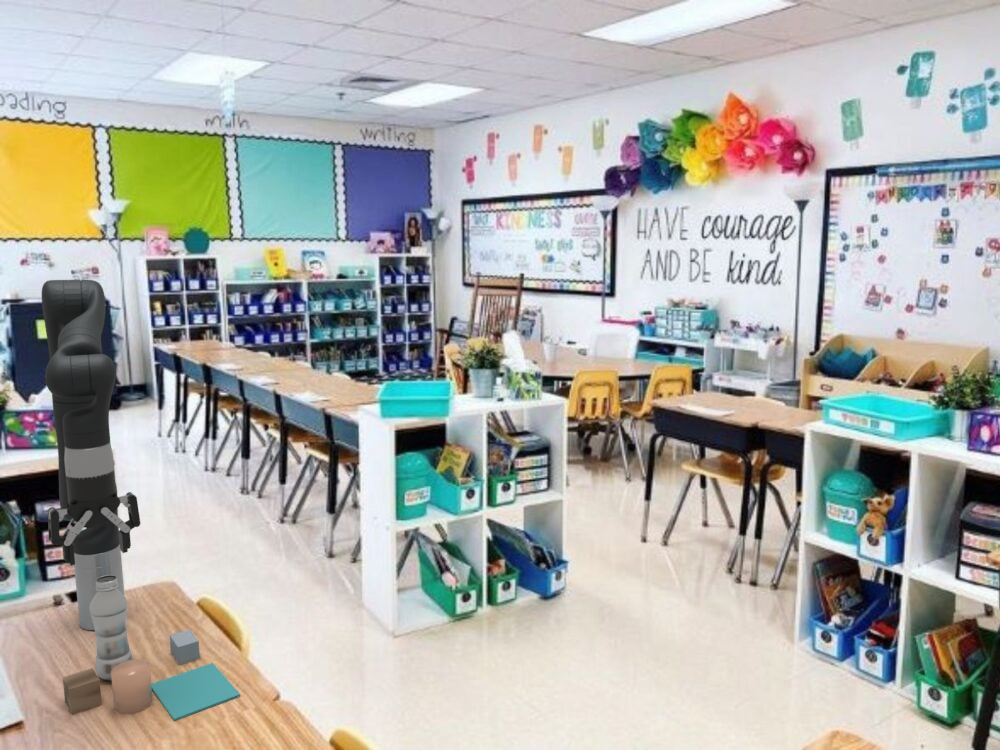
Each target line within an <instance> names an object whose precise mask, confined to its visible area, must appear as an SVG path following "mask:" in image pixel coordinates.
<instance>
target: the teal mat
mask: <svg viewBox="0 0 1000 750" xmlns="http://www.w3.org/2000/svg"><path fill="white" fill-rule="evenodd" d="M151 686H152V693H154V694H155V696H156V697H157V699H158V701H160V703H161V704H162V706H163V708H165V710H166V712H167V713H168V714H169V716H170V717H171V718H172V720H173V722H176V721H177V720H180V719H184V718H185V717H188V716H192V715H194V714H196V713H199V712H201V711H202V712H203V711H204V710H207V709H210V708H213V707H215V706H218V705H220V704H223V703H226V702H229V701H231V700H234V699H237V698H239V697H241V693H240V692H239V690H237V688H236V687H235V686H234V685H233V684H232V683H231V682H230V681H229V680H228V679H227V677H226V675H224V674H223V673H222V672H221V670H219V669H218V667H217V666H216V665H215V664H214V663H213V662H211V663H208V664H205V665H201V666H198V667H196V668H193V669H189V670H187V671H183V672H182V673H179V674H176V675H172V676H170V677H167V678H164V679H161V680H158V681H155V682H151ZM238 696H239V697H238ZM236 697H237V698H236Z"/></svg>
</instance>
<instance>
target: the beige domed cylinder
mask: <svg viewBox="0 0 1000 750" xmlns="http://www.w3.org/2000/svg"><path fill="white" fill-rule="evenodd" d="M111 679H112V680H111V686H112V687H111V689H112V697H113V698H112V700H113V709H114V711H115V713H118V714H120V715H133V714H136V713H139V712H142V711H144V710H146V709H148V708H149V707H150V706H151V705H152V703H153V700H154V699H153V690H152V686H151V684H152V674H151V665H150V662H149V661H148V660H145V659H140V658H139V659H136V658H135V659H133V660H129V661H125V662H123V663H120V664H118V665H117V666H115V667H114V668H113V669H112V671H111Z"/></svg>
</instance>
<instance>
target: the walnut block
mask: <svg viewBox="0 0 1000 750" xmlns="http://www.w3.org/2000/svg"><path fill="white" fill-rule="evenodd" d="M100 681H101V680H100V677H99V676H98V674H97V672H96V670H94V668H93V667H92V668H91V667H90V668H88V669H85V670H81V671H79V672H75V673H72V674H69V675H66V676H63V677H62V686H63V696H64V703H65V705H66V706H67V708H68V710H69V712H70V715H71V716H72V715H75V714H77V713H80V712H83V711H86V710H89V709H92V708H96V707H99V706H100V705H102V704H103V701H102V691H101V682H100Z"/></svg>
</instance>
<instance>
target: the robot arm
mask: <svg viewBox="0 0 1000 750" xmlns="http://www.w3.org/2000/svg"><path fill="white" fill-rule="evenodd" d="M41 307H42V315H43V320H44V321H43V322H44V327H45V335H46V339H47V340H46V341H47V346H48V354H49V361H48V364H47V365H46V368H45V373H44V374H45V375H44V377H45V379H44V380H45V385H46V387H47V389H48V391H49V392H50V393H51V398H52V401H51V402H52V409H53V410H52V411H53V420H54V427H55V434H56V435H55V437H56V443H57V453H58V454H57V457H58V458H57V459H58V460H57V461H58V496H59V497H58V498H59V508H55V507H49V508H48V510H47V519H48V520H47V523H48V528H47V529H48V530H47V531H48V540H49V542H51V544H52V546H53V545H54V546H57V545H60V546H61V549H62V555H63V556H62V557H63V560H64V561H65V563H66V564H68V565H69V566H70V567H71V566H73V570H74V579H75V588H76V589H75V590H76V597H77V598H76V599H77V611H78V620H79V622H78V623H79V627H80V628H81V629H82V630H85V631H87V630H88V631H95V628H94V624H93V620H92V617H91V613H90V603H91V601H92V599H93V598H94V596H95V595H96V593H97V592H98V591H96V579H97V578H99V577H101V576H105V575H115V576H117V581H118V588H117V589H118V590H119V591H120V592H121V593H122V594H123V595H124V596H125V585H124V584H125V583H124V573H123V562H122V553H123V554H126V553H128V551H129V550H128V549H130V548H131V546H132V543H131V531H132V530H133V529H134V528H138V527H140V525H141V517H140V512H139V511H140V510H139V505H138V498H137V496H136V495H135V494H134V493H133V492H132V491H130V492H129V491H128V492H126V494H125V495H121V496H118V489H117V488H118V487H117V482H116V472H115V465H116V463H115V460H114V452H113V449H112V444H111V433H110V417H109V416H110V414H109V412H110V407H111V405H110V404H111V400H112V395H113V391H114V388H115V383H116V378H117V367H116V365H115V362H114V361H113V359H112V358H111V357H109V356H108V355H106V354H103V346H102V334H103V330H104V326H105V320H106V311H107V310H106V297H105V292H104V289H103V287H102V284H101V283H100V282H98V281H96V280H94V279H51V280H50V279H49V280H46V281H45V282H44V283H43V285H42V287H41ZM121 504H122V505H123V506H124V507H125V508H126V509H127V512H128V513H127V514H128V520H126V521H124V520H122V519H121V518H120V517H119V513H118V511H119V509H118V508H119V507H120V505H121ZM63 519H64V520H65V521H67V522H69V523H68V525H67V526H66V529H65V531H64V532H63V533H62V535H61V534H60V522H62V521H63ZM121 552H122V553H121ZM125 597H126V596H125Z"/></svg>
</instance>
